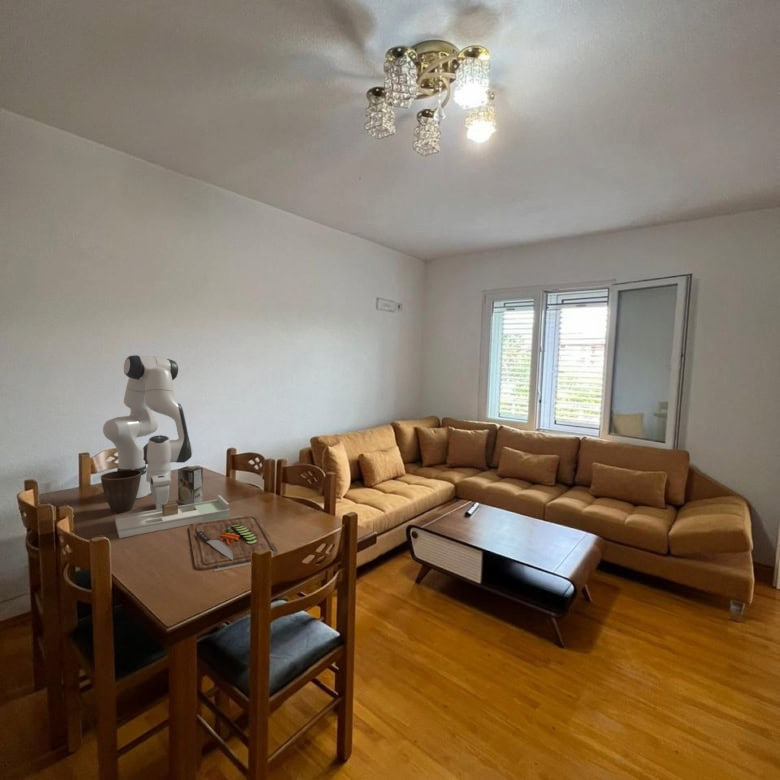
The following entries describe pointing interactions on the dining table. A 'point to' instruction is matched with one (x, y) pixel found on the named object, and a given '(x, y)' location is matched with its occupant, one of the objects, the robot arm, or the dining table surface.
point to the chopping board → (228, 542)
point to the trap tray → (171, 517)
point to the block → (170, 508)
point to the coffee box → (190, 485)
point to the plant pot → (121, 489)
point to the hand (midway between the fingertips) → (158, 508)
